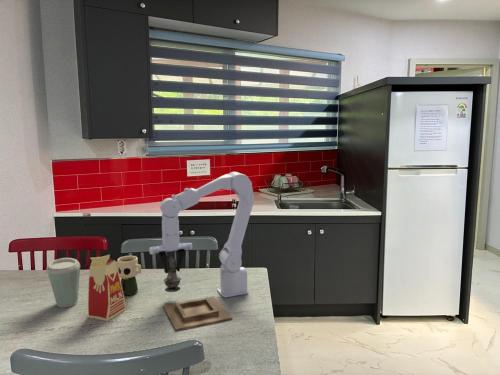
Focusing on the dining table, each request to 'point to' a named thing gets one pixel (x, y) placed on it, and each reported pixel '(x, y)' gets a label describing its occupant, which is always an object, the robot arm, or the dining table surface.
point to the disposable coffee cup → (64, 280)
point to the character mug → (128, 273)
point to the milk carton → (104, 289)
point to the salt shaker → (172, 277)
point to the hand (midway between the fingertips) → (172, 271)
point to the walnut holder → (196, 313)
